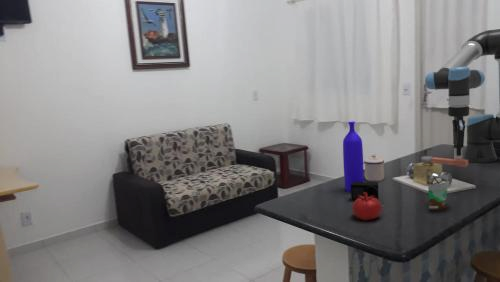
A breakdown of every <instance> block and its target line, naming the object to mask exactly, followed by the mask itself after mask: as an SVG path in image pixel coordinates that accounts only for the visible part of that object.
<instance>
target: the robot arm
mask: <svg viewBox="0 0 500 282" xmlns="http://www.w3.org/2000/svg"><path fill="white" fill-rule="evenodd" d="M484 56H494V57H493V58H494V60H495V61H496V62H497V63H498V66H497V67H498V100H499V101H498V103H499V104H498V105H499V109H498V111H499V112H497V113H496V114H495V116H494V114H493V113H491V114H490V113H489V114H488V113H487V114H486V113H485V114H480V115H479V114H478V115H477V114H476V115H472V116H469V115H470V106H469V105H470V98H471V97H470V96H471V95H470V90H471V89H477V88H480V87H481V86H482V85H483V84H484V82H485V79H486V77H485V74H484V72H483V71H481V70H479V69H470V67H469V65H470V64H471V63H472V62H473V61H475V60H478V59H479V58H480V57H484ZM424 84H425V86H426V88H427V89H428V90H437V91H438V90H448V94H447V95H448V98H446V101H448V108H447V110H448V111H447V115H448V116H449V117H453V119H452V120H451V123H452V133H453V134H452V136H453V137H452V138H453V139H452V140H453V141H452V144H453V152H454V154H453V155H454V156H453V159H465V160H468V163H478V164H479V163H480V164H481V163H482V164H484V163H493V162H496V161H497V160H498V157H497V156H498V155H497V154H496V151H495V148H494V142H500V28H497V29H489V30H484V31H481V32H480V33H478V34H475V35H474V36H472V37H470V38H469V39H467V40H466V41H465V42H464V43H463V44H462V45H461V48H460V50H458V52H456V54H454V56H453V57H451V58H450V59H449V60H448V61H447V62H446V63H445V64H444V65H443V66H442V67H441V68H439V70H438V71H436V72H435V71H432V72H429V73H427V74H426V76H425V80H424ZM468 116H469V117H468ZM464 117H468V118H467V123H466V121H465V120H464ZM465 124H466V125H465ZM465 129H466V147H465V149H464V152H463V148H464V146H465Z"/></svg>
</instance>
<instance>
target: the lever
mask: <svg viewBox="0 0 500 282" xmlns="http://www.w3.org/2000/svg"><path fill="white" fill-rule="evenodd" d="M420 160H421V162H423V163H437V164H441V165H450V166H454V167H460V168H462V167H463V168H466V167H467V166H469V161H468V160H465V159H463V158H462V159H454V158H444V157H435V156H431V155H429V156H428V155H425V156H421V159H420Z"/></svg>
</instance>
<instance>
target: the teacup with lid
mask: <svg viewBox="0 0 500 282" xmlns="http://www.w3.org/2000/svg"><path fill="white" fill-rule="evenodd" d="M384 162H385V160H384V158H382V157H379V156H377V155H376V154H371V156H369V157H368V158H365V159H363V165H364V180H366V181H368V182H381V181H383V180H384V179H385V163H384Z"/></svg>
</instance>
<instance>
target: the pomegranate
mask: <svg viewBox="0 0 500 282" xmlns="http://www.w3.org/2000/svg"><path fill="white" fill-rule="evenodd" d="M363 194H364V197H363V196H361V195H359V196H360V197H359V198H358V199H356V200H355V201H353V204H352V209H351V210H352V213H353V215H354V216H355V218H356V219H359V220H362V221H370V220H374V219H376V218H378V217H380V215H381V213H382V211H383V210H382V209H383V207H382V204H381V202H380V201H379V200H378V199H376V198H374V197H372V196H370V197H367V193H366V192H364V193H363Z"/></svg>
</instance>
